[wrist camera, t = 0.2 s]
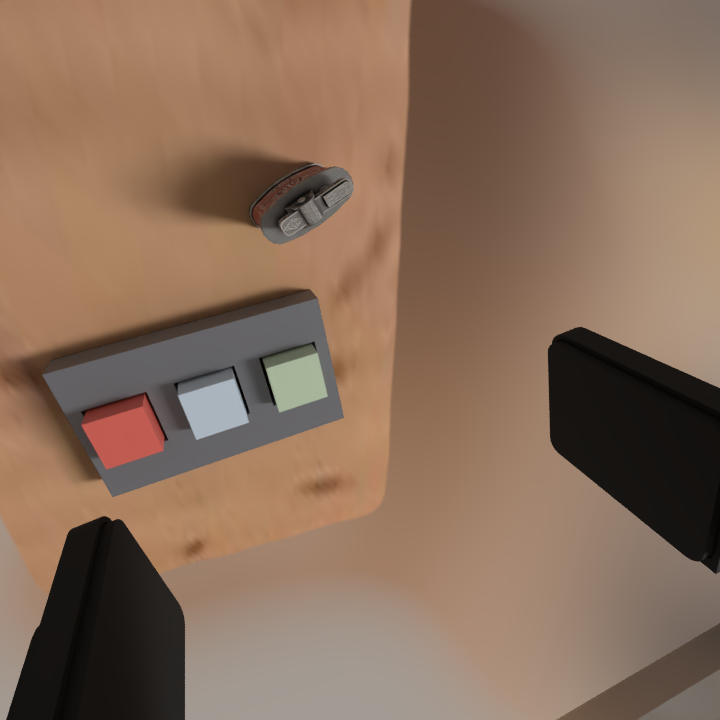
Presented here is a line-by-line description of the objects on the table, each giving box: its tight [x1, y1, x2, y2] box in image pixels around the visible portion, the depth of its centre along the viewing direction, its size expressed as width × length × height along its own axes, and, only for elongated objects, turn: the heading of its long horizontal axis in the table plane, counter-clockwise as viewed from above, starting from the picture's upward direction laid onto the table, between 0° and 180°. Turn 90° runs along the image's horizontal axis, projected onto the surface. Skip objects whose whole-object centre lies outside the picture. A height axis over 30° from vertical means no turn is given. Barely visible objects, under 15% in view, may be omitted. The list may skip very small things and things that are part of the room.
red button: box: [81, 392, 165, 470], centre depth 42 cm, size 5×5×3 cm
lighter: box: [249, 163, 354, 244], centre depth 37 cm, size 8×3×10 cm, turn 120°
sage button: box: [262, 343, 328, 413], centre depth 45 cm, size 5×5×3 cm
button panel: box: [42, 290, 344, 497], centre depth 45 cm, size 14×24×3 cm, turn 100°
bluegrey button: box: [178, 366, 249, 440], centre depth 44 cm, size 5×5×3 cm
